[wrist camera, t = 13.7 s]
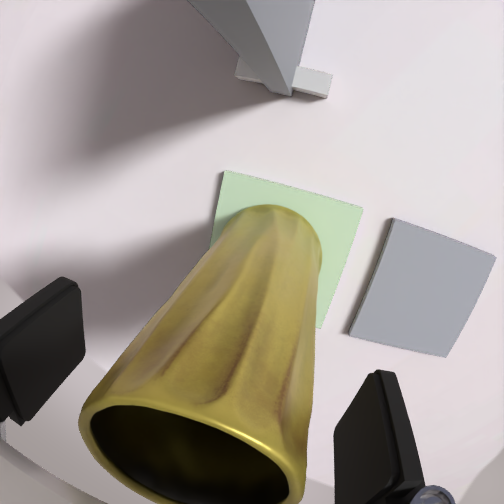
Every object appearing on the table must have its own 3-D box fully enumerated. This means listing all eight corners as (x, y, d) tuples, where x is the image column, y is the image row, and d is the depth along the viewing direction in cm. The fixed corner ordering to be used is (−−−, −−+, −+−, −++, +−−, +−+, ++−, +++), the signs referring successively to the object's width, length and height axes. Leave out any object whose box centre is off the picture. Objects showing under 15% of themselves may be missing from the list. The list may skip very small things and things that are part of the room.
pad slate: (348, 331, 20) (349, 335, 19) (393, 217, 17) (395, 219, 17) (444, 353, 19) (445, 357, 19) (492, 255, 16) (496, 257, 16)
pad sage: (203, 290, 21) (200, 294, 20) (226, 170, 18) (224, 171, 17) (320, 324, 20) (320, 328, 20) (362, 207, 17) (363, 209, 17)
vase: (200, 263, 20) (50, 440, 6) (256, 181, 17) (91, 306, 4) (280, 319, 20) (228, 539, 7) (343, 246, 18) (393, 479, 4)
